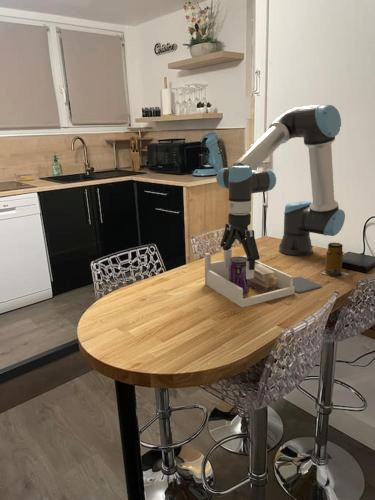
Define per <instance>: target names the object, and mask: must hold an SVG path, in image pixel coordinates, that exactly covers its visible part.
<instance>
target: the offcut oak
mask: <svg viewBox="0 0 375 500" xmlns="http://www.w3.org/2000/svg"><path fill="white" fill-rule="evenodd" d="M249 280H250V281H252V282H254V283H257V284H259V285H261V286H264V287H266V288H267V287H271V286H274V285H277V278H275V277H274V279H269V280H265V281H262V280H261V279H259V278H258V277H256V276H254V278H251V279H249Z"/></svg>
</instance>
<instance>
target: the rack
mask: <svg viewBox="0 0 375 500" xmlns="http://www.w3.org/2000/svg"><path fill="white" fill-rule="evenodd" d="M241 257H246V258H247V256H246V255H243V256H242V255H241ZM250 257H251V256H250ZM211 258H212V256H211V253H210V252H206V253H204V284H205V285H206V286H208V287H209V288H211V289H212V290H214V291H215V292H217V293H218V294H220V295H221V296H223V297H225V298H226V299H228V300H230V301H231V302H232V303H234V304H236V305H237V306H238V307H240V308H247V307H249V306H253V305H257V304H260V303H264V302H265V303H266V302H268V301H272V300H277V299H279V298H283V297H288V296H291V295H294V294H295V291H294V289H295V287H293V278H294V276H292V275H291V274H288V273H285V272H283V271H282V270H279V269H276V268H274V267H272V266H270V265H267V264H265V263H262V262H261V261H259V260H255V264H261V265H263V266H265V267H266V268H268V269H270V270H272V271H273V272H275V278H277V285H276V288H279V289H276V290H273V291H270V292H266V293H265V292H263V293H260V294H256V295H252V296H248V297H245V298H244V296H243V295H244V293H243V289H242V288H241V287H239V286H237V285H235V284H234V283H232V282H230V281H229V267H227V268H224V259H222V260H217V261H212V259H211Z"/></svg>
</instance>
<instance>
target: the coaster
mask: <svg viewBox="0 0 375 500" xmlns="http://www.w3.org/2000/svg"><path fill="white" fill-rule="evenodd" d="M293 287H295V289H294V293H297V294H301V293H305V292H309V291H313V290H316V289H317V290H318V289H320V288H322V287H323V286H322V284H320V283H317V282H314V281H312V280H310V279H308V278H305V277H303V276H297V277H293Z"/></svg>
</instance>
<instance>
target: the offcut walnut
mask: <svg viewBox="0 0 375 500" xmlns="http://www.w3.org/2000/svg"><path fill="white" fill-rule="evenodd" d="M249 287H253V288H254V289H257V290H259V291H261V292H263V293H268V292H272V291H275V290H277V287H276V285H274V286H271V287H267V288H266V287H264V286H261V285H259V284H257V283H254V282H252V281H250V280H249Z"/></svg>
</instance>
